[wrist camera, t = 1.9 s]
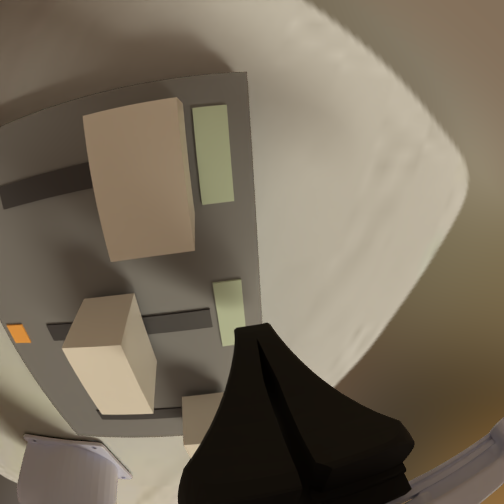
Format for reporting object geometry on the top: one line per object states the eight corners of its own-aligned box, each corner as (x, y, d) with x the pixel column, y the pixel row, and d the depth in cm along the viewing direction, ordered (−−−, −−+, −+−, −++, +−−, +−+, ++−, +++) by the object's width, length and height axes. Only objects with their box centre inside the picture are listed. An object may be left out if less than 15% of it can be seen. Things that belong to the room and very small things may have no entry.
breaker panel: (82, 415, 18) (77, 436, 16) (-30, 146, 9) (-54, 153, 7) (261, 402, 20) (267, 425, 18) (239, 78, 11) (247, 71, 9)
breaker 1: (131, 222, 11) (110, 262, 8) (114, 115, 9) (82, 116, 6) (195, 213, 11) (194, 250, 8) (182, 103, 9) (176, 97, 6)
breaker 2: (195, 431, 17) (199, 473, 14) (181, 396, 15) (183, 445, 12) (232, 427, 17) (240, 469, 14) (225, 391, 15) (233, 440, 12)
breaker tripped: (112, 364, 13) (101, 414, 10) (84, 298, 12) (61, 348, 9) (156, 361, 14) (153, 413, 11) (134, 293, 12) (120, 345, 9)
